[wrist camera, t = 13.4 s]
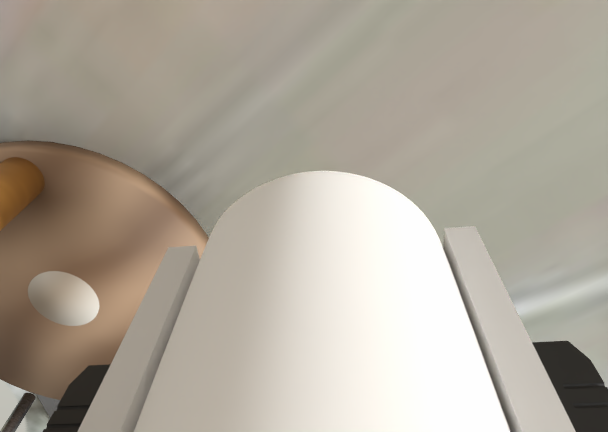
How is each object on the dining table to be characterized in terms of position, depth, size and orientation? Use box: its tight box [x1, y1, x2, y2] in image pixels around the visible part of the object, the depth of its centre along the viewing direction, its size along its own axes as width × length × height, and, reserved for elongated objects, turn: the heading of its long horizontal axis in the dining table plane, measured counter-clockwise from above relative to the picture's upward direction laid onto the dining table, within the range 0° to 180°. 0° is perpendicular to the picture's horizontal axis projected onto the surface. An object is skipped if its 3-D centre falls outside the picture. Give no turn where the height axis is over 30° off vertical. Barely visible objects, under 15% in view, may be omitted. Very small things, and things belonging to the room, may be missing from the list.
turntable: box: [0, 141, 209, 400], centre depth 28 cm, size 20×20×10 cm
